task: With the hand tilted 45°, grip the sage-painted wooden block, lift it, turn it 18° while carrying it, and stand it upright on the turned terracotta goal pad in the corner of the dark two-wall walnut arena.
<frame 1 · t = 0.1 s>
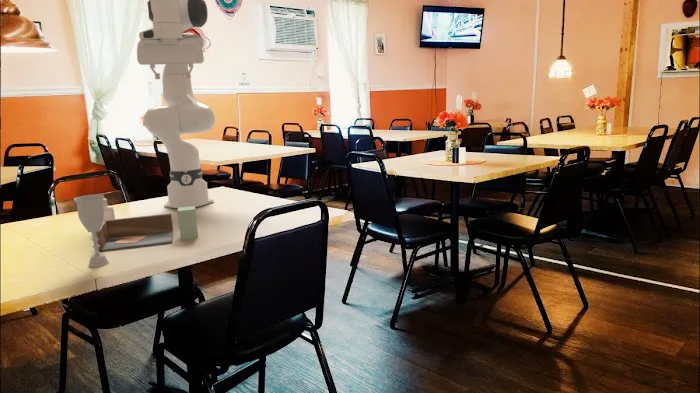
hand: (173, 78, 168), 48 cm above the table, tool pointing down, fingers open, 8 cm apart
arena: (137, 241, 157), on the table
sage block: (189, 237, 159), on the table
chalice: (98, 264, 137), on the table
eye dropper bottle: (107, 231, 171), on the table
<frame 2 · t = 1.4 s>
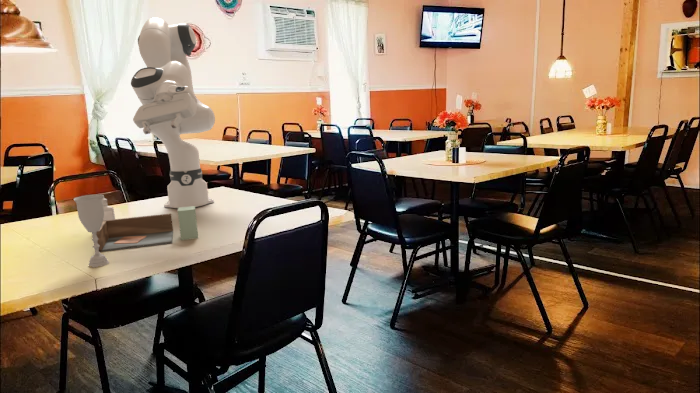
hand: (160, 129, 160), 33 cm above the table, tool tilted 50°, fingers open, 8 cm apart
nothing on the table moved.
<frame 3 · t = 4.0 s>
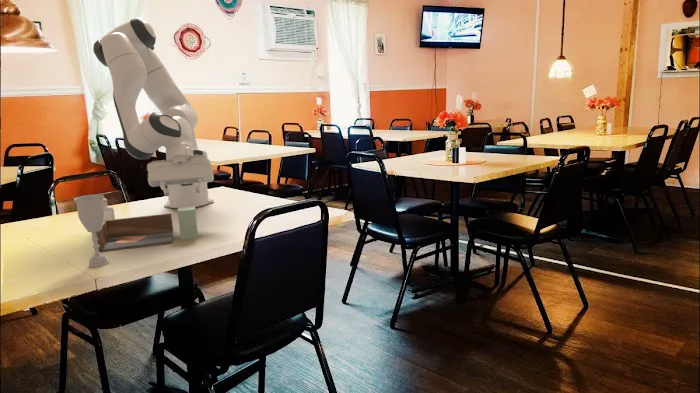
hand: (182, 193, 165), 12 cm above the table, tool tilted 45°, fingers open, 8 cm apart
nothing on the table moved.
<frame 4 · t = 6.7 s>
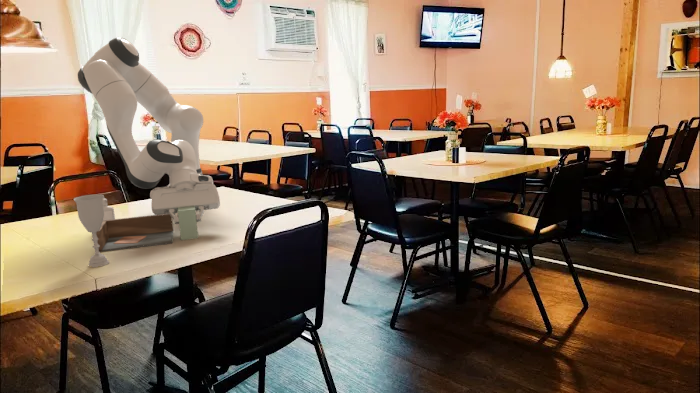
hand: (187, 221, 158), 5 cm above the table, tool tilted 45°, fingers closed on sage block, 5 cm apart
sage block: (189, 237, 159), on the table, touching gripper
everything else where it was.
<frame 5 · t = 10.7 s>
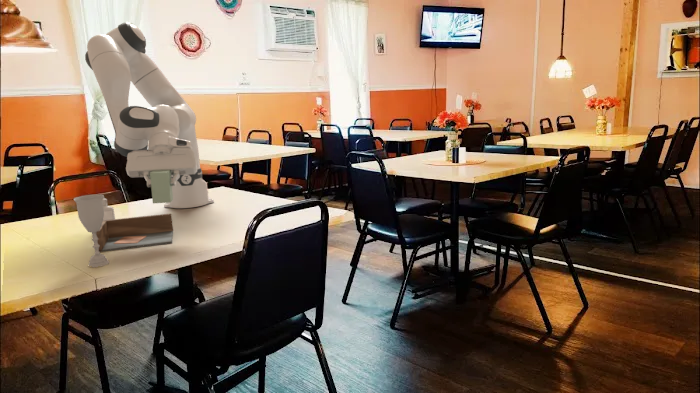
hand: (161, 185, 154), 17 cm above the table, tool tilted 45°, fingers closed on sage block, 5 cm apart
sage block: (163, 201, 155), point 12 cm above the table, touching gripper
everything else where it was.
when the fingers open (7 cm above the table, at t = 14.6 s): sage block drops 1 cm, resting on arena.
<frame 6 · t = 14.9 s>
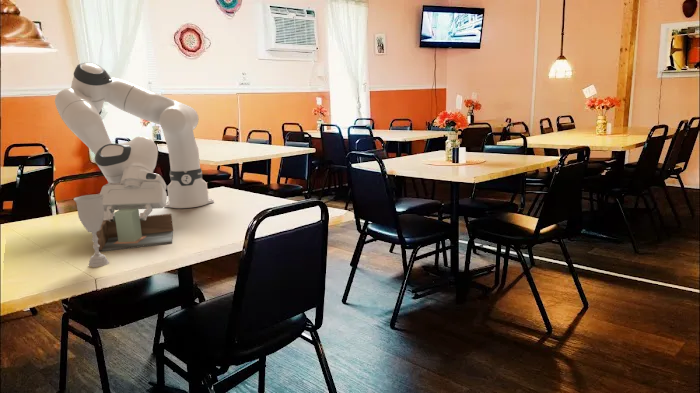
hand: (126, 220, 155), 7 cm above the table, tool tilted 45°, fingers open, 8 cm apart
sage block: (130, 239, 156), point 1 cm above the table, touching arena
everything else where it was.
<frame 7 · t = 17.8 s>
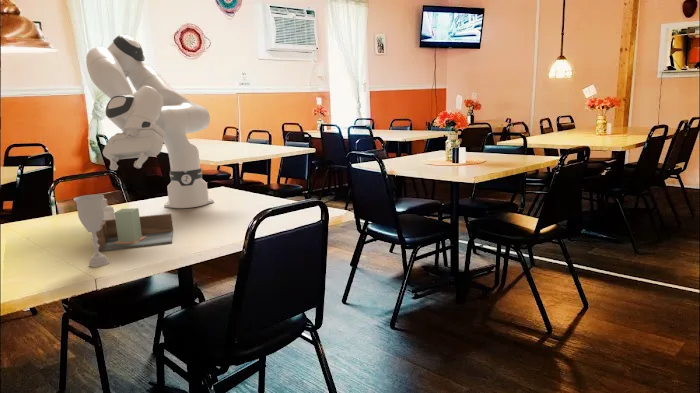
hand: (124, 168, 160), 21 cm above the table, tool tilted 40°, fingers open, 8 cm apart
nothing on the table moved.
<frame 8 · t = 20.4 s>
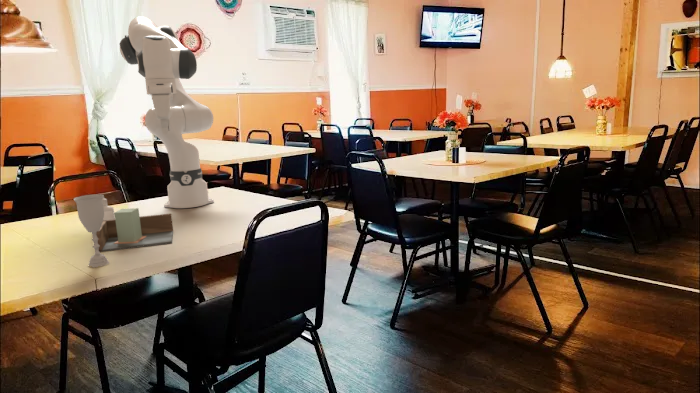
hand: (166, 132, 167), 31 cm above the table, tool pointing down, fingers open, 8 cm apart
nothing on the table moved.
at the end: sage block inside the target area on the arena (0.0 cm from its centre), point 0.8 cm above the arena's base; sage block tilted 0°; the gripper is holding nothing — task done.
